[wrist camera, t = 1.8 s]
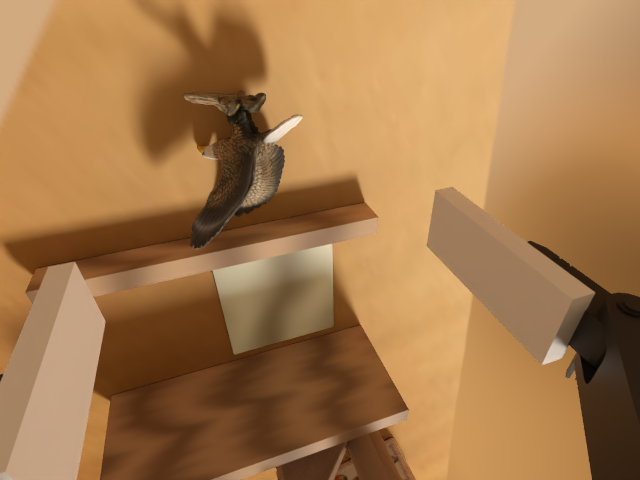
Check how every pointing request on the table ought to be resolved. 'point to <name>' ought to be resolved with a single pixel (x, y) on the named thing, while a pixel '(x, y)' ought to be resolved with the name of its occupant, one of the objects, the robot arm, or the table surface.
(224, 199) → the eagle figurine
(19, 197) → the table surface
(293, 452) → the wall board
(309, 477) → the wooden block
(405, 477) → the decorative jar
